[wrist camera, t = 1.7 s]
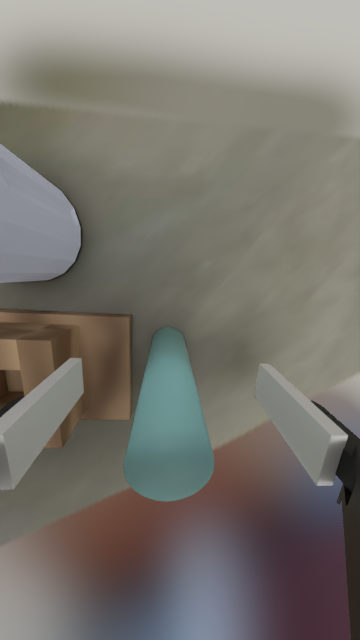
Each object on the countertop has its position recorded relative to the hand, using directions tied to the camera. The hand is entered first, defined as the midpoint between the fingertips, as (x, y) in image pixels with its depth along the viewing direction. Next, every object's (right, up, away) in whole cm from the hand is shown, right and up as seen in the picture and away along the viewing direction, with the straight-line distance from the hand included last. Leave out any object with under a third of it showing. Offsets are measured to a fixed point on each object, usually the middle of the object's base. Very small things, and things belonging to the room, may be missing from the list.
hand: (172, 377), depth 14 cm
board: (-15, -1, +7) cm, 16 cm away
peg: (-1, +2, +7) cm, 7 cm away
